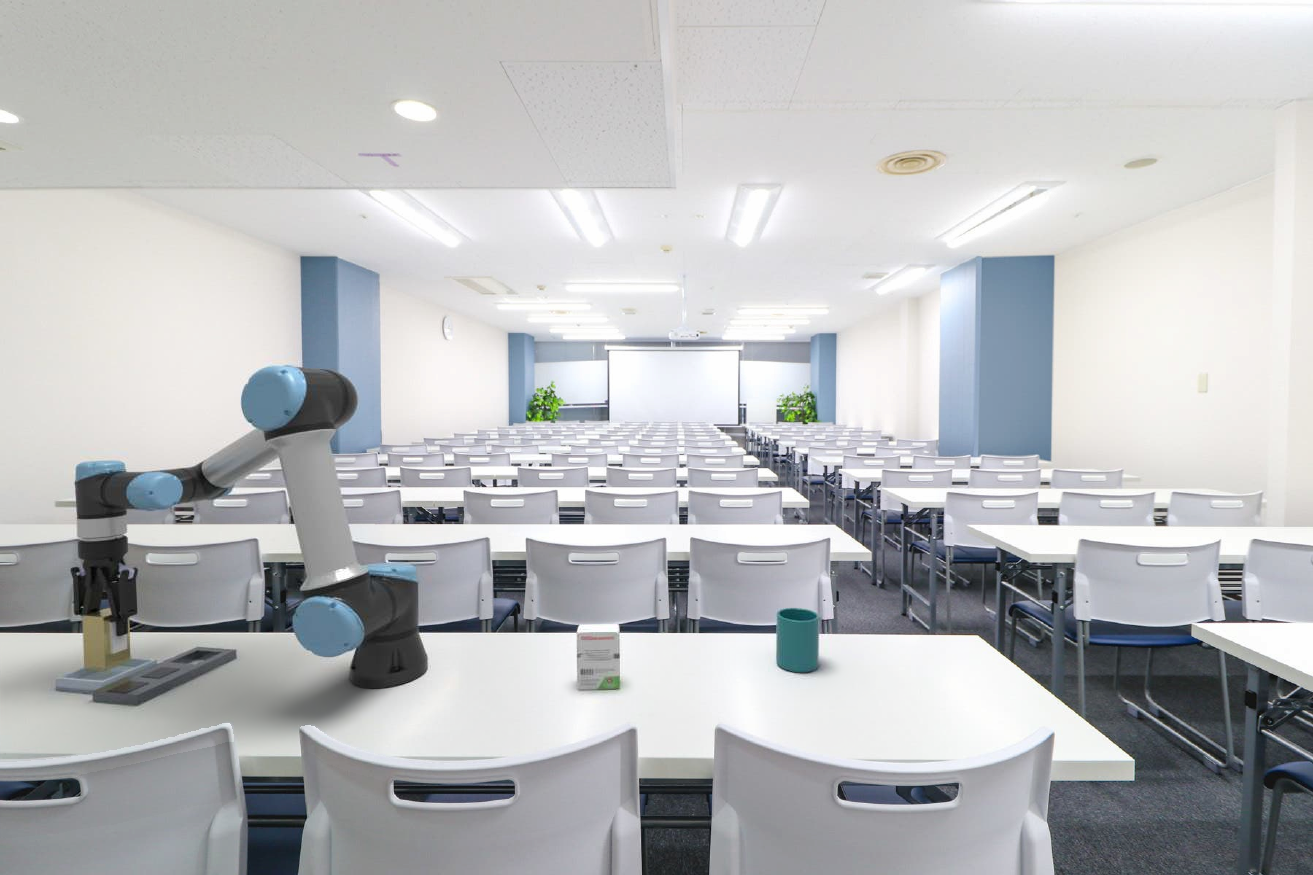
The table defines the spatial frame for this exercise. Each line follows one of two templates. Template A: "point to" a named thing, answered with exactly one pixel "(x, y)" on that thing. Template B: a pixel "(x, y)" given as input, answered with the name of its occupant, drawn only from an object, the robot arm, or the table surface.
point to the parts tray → (100, 676)
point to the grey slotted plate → (163, 676)
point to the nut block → (101, 642)
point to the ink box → (598, 657)
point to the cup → (797, 640)
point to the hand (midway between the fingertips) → (107, 649)
